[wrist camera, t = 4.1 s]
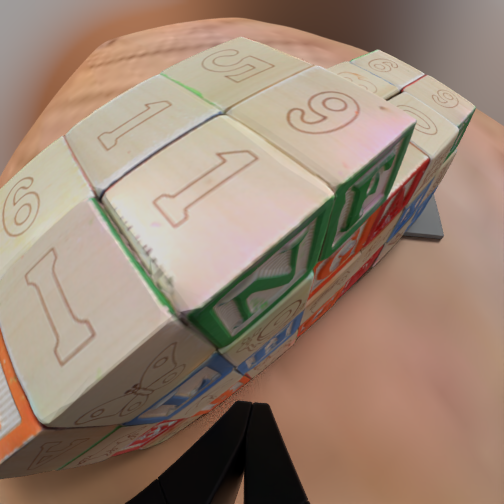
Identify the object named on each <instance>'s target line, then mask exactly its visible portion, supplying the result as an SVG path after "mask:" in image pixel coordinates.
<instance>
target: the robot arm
mask: <svg viewBox="0 0 504 504" xmlns="http://www.w3.org/2000/svg"><path fill="white" fill-rule="evenodd" d="M243 475H244V504H310V502H309V501H307V500H308V498H307V496H306V493H305V491H304V489H303V486H302V484H301V482H300V479H299V477H298V475H297V472H296V470H295V467H294V465H293V463H292V460H291V458H290V455H289V453H288V451H287V448H286V446H285V443H284V441H283V438H282V436H281V433H280V431H279V428H278V426H277V423H276V421H275V418H274V416H273V413H272V411H271V408H270V406H269V404H267V403H257V402H255V403H253V404H252V402H248V401H236V402H235V403H234V404H233V405H232V406H231V407H230V408H229V410H228V411H227V412H226V413H225V414H224V415H223V416H222V417H221V418H220V419H219V420H218V421H217V422H216V423H215V424H214V425H213V426H212V427H211V428H210V429H209V430H208V431H207V432H206V433H205V434H204V435H203V436H202V437H201V438H200V439H199V440H198V441H197V442H196V443H195V444H194V445H193V446H192V447H191V448H189V449H188V450H187V451H186V452H185V453H184V454H183V455H182V456H181V457H180V458H179V459H178V460H177V461H176V462H175V463H173V464H172V465H171V466H170V467H169V468H168V469H167V470H166V471H165V472H164V473H162V474H161V475H160V476H159V477H158V479H156V480H154V481H153V482H152V483H151V484H150V485H149V486H148V487H146V488H145V489H144V490H143V491H141V492H140V493H139V494H138V495H136V496H135V497H134V498H132V499H131V500H129V501H128V502H126V503H125V504H234V503H235V500H236V497H237V494H238V491H239V488H240V485H241V482H242V478H243Z"/></svg>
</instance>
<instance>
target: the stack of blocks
mask: <svg viewBox="0 0 504 504" xmlns="http://www.w3.org/2000/svg"><path fill="white" fill-rule="evenodd" d="M475 109H476V107H475V106H474V105H473V104H471V103H470V102H469V101H468V100H466V99H465V98H463V97H462V96H460V95H459V94H457V93H456V92H454V91H453V90H451V89H450V88H448V87H447V86H445V85H444V84H442V83H441V82H439V81H437V80H435V79H434V78H433V77H431V76H428V75H425V74H424V73H422V72H420V71H419V70H417V69H415V68H413V67H411V66H410V65H408V64H406V63H404V62H402V61H400V60H398V59H397V58H395V57H393V56H391V55H389V54H387V53H384V52H382V51H380V50H375V51H373V52H371V53H368V54H365V55H363V56H360V57H358V58H355V59H352V60H351V61H350V62H342V63H340V64H338V65H335V66H333V67H330V68H328V69H325V68H322V67H320V66H315V65H312V64H310V63H308V62H306V61H304V60H302V59H299V58H296V57H294V56H291V55H288V54H286V53H284V52H281V51H279V50H277V49H274V48H272V47H269V46H267V45H264V44H262V43H259V42H256V41H254V40H251V39H248V38H245V37H238V38H236V39H233V40H230V41H228V42H225V43H223V44H220V45H218V46H215V47H213V48H210V49H208V50H206V51H203V52H201V53H199V54H196V55H194V56H192V57H190V58H188V59H186V60H183V61H181V62H179V63H177V64H175V65H173V66H171V67H169V68H167V69H165V70H164V71H162V72H161V73H160V74H159V75H156V76H153V77H151V78H149V79H147V80H145V81H143V82H141V83H139V84H137V85H135V86H134V87H132V88H130V89H129V90H127V91H125V92H124V93H122V94H120V95H119V96H117V97H116V98H114V99H112V100H111V101H109V102H108V103H106V104H105V105H103V106H102V107H100V108H98V109H97V110H95V111H94V112H92V113H91V114H89V115H88V116H86V117H85V118H84V119H82V120H81V121H80V122H78V123H77V124H76V125H74V126H73V127H72V128H71V129H70V131H69V132H68V133H67V134H66V135H64V136H62V137H60V138H59V139H57V140H56V141H54V142H53V143H52V144H50V145H49V146H48V147H47V148H45V149H44V150H43V151H42V152H41V153H39V154H38V155H37V156H36V157H35V158H34V159H32V160H31V161H30V162H29V163H28V164H27V165H26V166H25V167H23V168H22V169H21V170H20V171H19V172H18V173H17V174H16V175H15V176H14V177H13V178H12V179H11V180H9V181H8V182H7V183H6V184H5V185H4V186H3V187H2V188H1V189H0V479H4V478H13V477H20V476H26V475H32V474H37V473H43V472H48V471H52V470H57V471H58V470H64V469H69V468H75V467H79V466H84V465H88V464H93V463H97V462H101V461H104V460H106V459H107V458H109V457H112V456H116V455H120V454H123V453H126V452H130V451H133V450H136V449H146V448H148V447H151V446H154V445H156V444H159V443H161V442H163V441H165V440H167V439H168V438H170V437H171V436H173V435H174V434H176V433H177V432H178V431H180V430H181V429H183V428H184V427H186V426H187V425H189V424H190V423H191V422H193V421H194V420H196V419H197V418H199V417H200V416H201V415H203V414H206V413H208V412H209V411H211V410H212V409H214V408H215V407H216V406H218V405H219V404H220V403H222V402H223V401H224V400H225V399H227V398H228V397H229V396H231V395H232V394H233V393H235V392H236V391H237V390H238V389H240V388H241V387H242V386H243V385H245V384H246V383H247V382H249V381H250V380H251V379H252V378H253V377H255V376H256V375H257V374H259V373H260V372H261V371H263V370H264V369H265V368H266V367H267V366H269V365H270V364H271V363H272V362H273V361H275V360H276V359H277V358H278V357H279V356H281V355H282V354H283V353H284V352H285V351H286V350H287V349H289V348H290V347H291V346H292V345H293V344H294V343H295V341H296V338H297V337H298V336H300V335H301V334H303V333H304V332H305V331H306V330H307V329H308V328H309V327H310V326H311V325H312V324H313V323H314V322H316V321H317V320H318V319H319V318H320V317H321V316H322V315H323V314H324V313H325V312H326V311H327V310H328V309H330V308H331V307H332V306H333V305H334V303H335V302H336V300H337V299H338V298H339V297H341V296H342V295H343V294H344V293H345V292H346V291H347V290H348V289H349V288H350V287H351V286H352V285H353V284H354V283H355V282H356V281H357V280H358V279H359V278H360V277H361V276H362V275H363V274H364V273H365V272H366V271H367V270H368V269H369V267H374V266H375V265H376V264H377V263H378V262H379V261H380V260H381V259H382V258H383V257H384V255H385V254H386V253H387V252H388V251H389V250H390V249H391V248H392V247H393V246H394V245H395V244H396V243H397V242H398V240H399V239H400V238H401V237H402V235H403V234H404V233H405V232H406V231H407V229H408V228H409V227H410V226H411V225H412V224H413V223H414V222H415V220H416V219H417V218H418V217H419V216H420V215H421V213H422V212H423V210H424V209H425V207H426V205H427V204H428V202H429V200H430V199H431V197H432V195H433V194H434V192H435V190H436V189H437V187H438V185H439V184H440V182H441V181H442V179H443V177H444V175H445V173H446V172H447V170H448V168H449V166H450V164H451V162H452V161H453V159H454V157H455V155H456V153H457V149H456V148H457V146H458V144H459V142H460V140H461V138H462V137H463V135H464V132H465V130H466V128H467V126H468V124H469V122H470V120H471V118H472V115H473V113H474V111H475Z"/></svg>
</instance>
